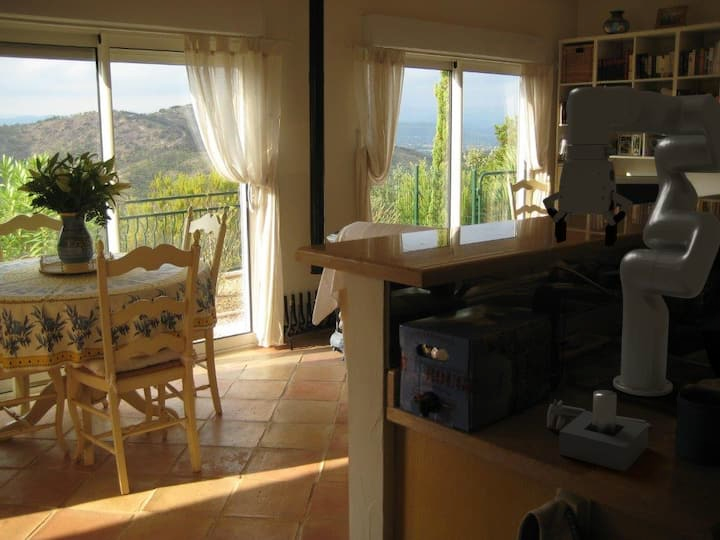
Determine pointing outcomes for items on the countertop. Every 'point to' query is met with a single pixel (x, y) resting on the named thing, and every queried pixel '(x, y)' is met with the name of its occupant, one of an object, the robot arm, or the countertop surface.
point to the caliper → (570, 414)
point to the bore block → (604, 442)
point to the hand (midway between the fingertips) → (585, 243)
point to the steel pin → (604, 412)
